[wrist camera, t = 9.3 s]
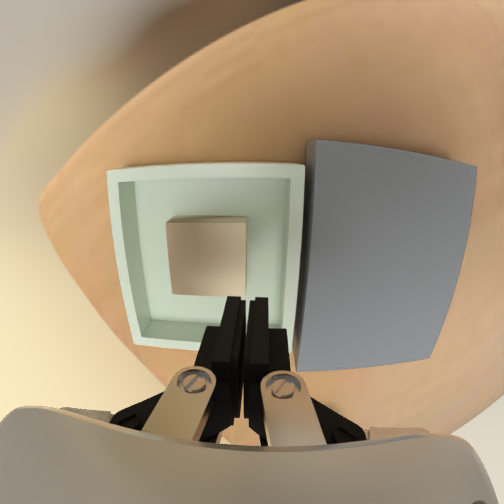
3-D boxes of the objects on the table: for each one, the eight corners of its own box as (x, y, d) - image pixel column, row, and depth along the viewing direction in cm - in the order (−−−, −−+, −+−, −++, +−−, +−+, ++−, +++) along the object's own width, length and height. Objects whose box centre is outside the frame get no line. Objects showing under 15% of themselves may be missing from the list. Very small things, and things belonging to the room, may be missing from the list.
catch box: (297, 163, 18) (305, 165, 15) (287, 329, 22) (291, 353, 20) (126, 167, 18) (106, 170, 15) (146, 323, 23) (134, 344, 20)
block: (165, 222, 17) (174, 215, 19) (172, 294, 19) (179, 281, 21) (245, 223, 17) (247, 215, 19) (245, 297, 19) (246, 283, 21)
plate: (449, 162, 17) (476, 166, 14) (414, 335, 23) (429, 358, 19) (305, 141, 17) (316, 139, 14) (292, 343, 23) (296, 371, 20)
